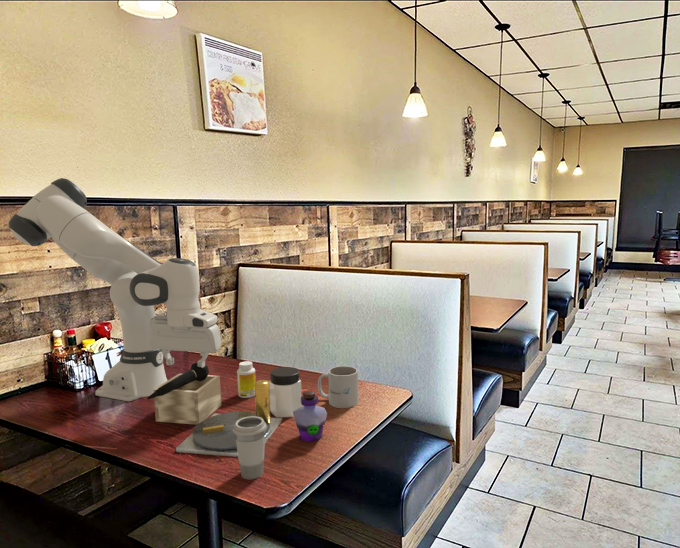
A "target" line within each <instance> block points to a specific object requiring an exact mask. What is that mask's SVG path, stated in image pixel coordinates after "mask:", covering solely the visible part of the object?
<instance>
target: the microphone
mask: <svg viewBox="0 0 680 548" xmlns="http://www.w3.org/2000/svg"><path fill="white" fill-rule="evenodd" d="M197 365H198V364H197V361H196V362H194V363H193V364H191V367H190V369H188V370H186V371H184V372H183V373H181V374H182V375H180V376H178V377H176V378H175V379H173V380H171V381H170V382H168V383H166V384H165V385H163V386H161V387H160V388H158V389H157V390H156V392H154V393H153V394H151V395H150V396H146V399H147V400H151V399H154V398H155V397H157V396H162V395H165V394H167V393H169V392H171V391H172V390H176V389H178V388H180V387H182V386H184V385H186V384H189V383H191V382H193V381H195V380H196V381H199V382H200V381H203V380H205V379H206V377H207V376H208V375H209V373H210V370H209V367H208V365H207V364H206V363H205V367H203V368H201V367H197Z"/></svg>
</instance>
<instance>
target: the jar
mask: <svg viewBox="0 0 680 548" xmlns="http://www.w3.org/2000/svg"><path fill="white" fill-rule="evenodd" d="M300 375H301V374H300V370H299V369H298V368H296V367H294V366H293V367H292V366H282V367H277V368H274V369H272V370H271V371H270V373H269V377H270V380H268V381H269V398H270V414H272V415H273V416H274V418H294V414H293V411H295V410H296V409H298V408H300V407H303V405H302V404H301V397H302V396H303V392H302V380H301V379H300Z"/></svg>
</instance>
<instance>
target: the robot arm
mask: <svg viewBox="0 0 680 548" xmlns="http://www.w3.org/2000/svg"><path fill="white" fill-rule="evenodd" d="M87 205H88V203H87V195H86V194H85V192H84V190H83V189H82V188H81V187H80V186H79V185H78V184H77V183H75V182H73V181H72V180H70V179H68V178H63V177H61V178H58V179H56V180H53V181H52V182H50V185H48V186H46V187H44V188H43V189H42V190H39V192H38V193H36V194H35V195H34V196H32V198H31V199H30V200H28V201H27V203H25V204H24V205H23V206H22V207H21V208H20V209H19V211H18V212H17V213H14V214H13V215H12V216H11V218H10V220H9V221H8V228H9V229H10V232H11V234H12V235H13V236H14V238H15V239H17V240H18V241H20V242H21V243H23V244H25V245H29V246H31V247H39V246H41V245H44V244H45V243H47V242H48V240H49V239H50V238H51V239H52V240H53V241H54V243H55V244H56V245H57V246H58V248H60V249H61V250H62V251H63V252H64V253H65V254H66V255H67V257H69V258H70V259H71V260H73V262H76V264H78V265H79V266H80V267H81V268H83V269H84V270H85V271H87V272H88V273H89V274H90V275H91V276H93V277H94V278H97V280H98V279H99V280H101V281H104V282H106V283H108V284H110V285H111V286H110V289H109V298H110V301H111V303H112V304H113V305H114V306H115V308H116V311H117V315H118V318H119V321H120V325H121V331H122V333H121V334H122V340H123V342H122V343H123V349H122V350H120V351H118V352H116V353H115V354H116V357H120V359H119V361H118V362H117V363H115V364H114V365H113V366H112V367H111V368H110V369H108V370H107V371H106V372H105V373H104V375H103V379H102V385H101V386H100V387H98V388H97V389H96V390H95V392H94V393H95V396H98V397H103V398H108V399H112V400H113V399H114V400H119V401H124V402H131V401H136V400H139V398H145V397H146V398H147V397H149V396H150V395H151V394H153V393H154V389H155V388H157V387H158V386H160V385H162V384H163V383H165V382H166V381H168V378H167V375H166V371H165V367H164V359H165V361H166V362H165V363H166V366H173V365H174V364H175V357H172V355H171V353H170V352H171V351H178V352H193V353H200V356H201V358H200V359H199V360H198V361H196V362H197V364H198V365H197V367H201V368H203V367H205V364H206V360H207V358H208V357H209V354H215V353H217V352H218V351H219V350H220V349H221V348H222V339H221V338H222V336H221V331H220V327H219V325H218V324H216V323H217V322H218V319H219V317H218V316H217V315H216V314H214V313H211V312H209V311H206V310H204V309H202V308H201V302H200V300H199V295H200V292H201V291H200V289H201V288H200V276H199V270H198V267H197V264H196V263H195V262H194V261H192V260H190V259H187V258H181V257H179V258H178V257H172V258H168V259H167V260H166V261H164V262H163V263H162V262H161V261H159V260H157V259H156V258H153V257H152V256H151V255H150V254H148V253H147V252H145V251H144V250H142V249H140V248H139V247H137V246H136V245H135V244H133V243H132V242H130V241H129V240H127V239H125V238H124V237H122V236H121V235H120V234H118V233H116V231H114V230H113V229H111V228H110V227H108V226H107V225H106V224H105V223H103V222H102V221H101V220H99V219H98V218H97V217H96V216H94V215H93V214H91V213H90V212H89V211H88V210H87V209H86V207H87ZM161 304H163V305H165V307H166V316H165V315H163V316H161V315H157V314H156V312H155V306H156V305H161Z"/></svg>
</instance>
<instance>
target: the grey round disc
mask: <svg viewBox="0 0 680 548" xmlns="http://www.w3.org/2000/svg"><path fill="white" fill-rule="evenodd" d="M269 381H270V380H268V379H260V380H256V382H255V383H254V384H255V396H254V401H255V412H252V411H230V412H224V413H218V414H219V415H215V416H212V415H211V416H212V417H211V416H209V417H208V418H207V419H205V420H203V421H202V422H200V423H199V424H198V425H195V426H194V428H193V430H192V433H193V440H194V442H195V443H196V444H198V445H199V446H201V447H204V448H208V449H214V450H229V449H237V445H236V434H235V433H234V432H233V428H234V426H235V423H236V421H238V420H239V419H241V418H244V417H249V416H257V417H261V418H262V419H263V420H264V422H265V423H266V425H267V427H266V429H265V430H264V433H265V436H266V435H267V434H268V433H269V431H270V422H271V421H270V418H271V411H270V388H269Z"/></svg>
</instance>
